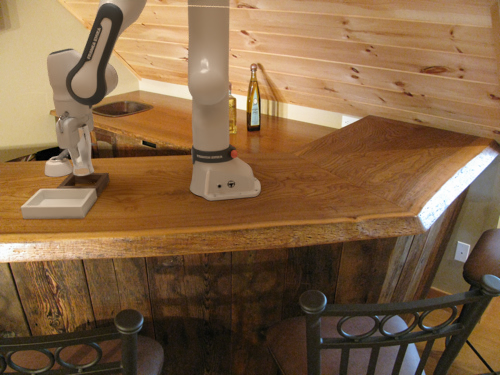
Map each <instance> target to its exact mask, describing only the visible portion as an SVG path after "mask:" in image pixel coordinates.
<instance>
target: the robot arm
mask: <svg viewBox="0 0 500 375" xmlns="http://www.w3.org/2000/svg"><path fill="white" fill-rule="evenodd" d="M147 3H148V0H99V2H98V7H97V10H96V14H95V18H94V22H93V23H92V27H91V29H90V32H89V35H88V37H87V40H86V43H85V46H84V49H83V51H82V53H80V52H79V51H78V50H77V49H74V48H65V49H60V50H55V51H52V52H50V53H49V54H48V55H47V57H46V67H47V68H46V69H47V76H48V80H49V85H50V87H51V89H52V99H53V100H52V101H53V105H54V111H55V114H56V117H58V120H57V121H56V122H55V133H56V135H55V136H56V141H57V146H58V147H59V148H60V149H63V150H65V149H69V151H70V152H71V155H72V158H73V159H77V158H79V156H80V155H79V151H77V148H76V147H77V143H78V142H80V136H79V130H78V129H77V128H80V127H84V126H85V125H84V123H86V124H87V125H88V129H89V133H91V132H92V131H93V130H94V127H95V125H94V114H93V110H92V109H93V107H94V106H95V105H97V104H100V103H101V102H102V101H103V100H104V99H105V98H106V97H107V96H108V95H110V94H111V93H112V92H113V91H114V90H115V89H116V88H117V86H118V83H119V76H118V73H117V71H116V69H115V68H114V66H113V65H112V64H111V63H109V62H110V59H111V56H112V55H113V52H114V49H115V46H116V43H117V41H118V40H119V38H120V36H121V35H122V34H123V33H124V31H125V30H126V29H128V28H129V27H130V26H131V25H133V24H134V23H135V22H136V21H137V20H138V19H139V18H140V16H141V14H142V12H143V11H144V10H145V7H146V5H147ZM187 27H188V30H187V31H188V46H187V50H188V51H187V88H188V91H189V94H190V96H191V106H192V107H191V129H192V130H191V133H192V145H191V162H192V174H191V176H192V178H191V182H190V184H189V185H190V186H189V190H190V192H192V193H193V194H194V195H197V196H199V197H202V198H204V199H205V200H207V201H210V202H211V201H213V202H214V201H222V200H232V199H244V198H254V197H257V196H259V195H260V193H261V191H262V188H261V182H260V181H259V179H258V178H256V177H255V175H254V173H253V169H252V167H251V166H250V165H249V164H248V163H246V162H245V161H243V160H242V159H240V158H239V157H238V151H237V147H236V146H235V144H230V76H229V72H230V70H229V69H230V68H229V67H230V65H229V64H230V0H187Z"/></svg>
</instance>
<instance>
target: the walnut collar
mask: <svg viewBox="0 0 500 375" xmlns="http://www.w3.org/2000/svg"><path fill="white" fill-rule="evenodd" d="M109 183H110V174H109V172H94V173H93V174H91V175H87V176H75V175H74V174H73V172H72V173H70V174H68V175H67V177H66V178H64V180H63V181H62V182H61V183H60V184H59V185H58V186H57V187H56V188H55V189H85V188H95V189H96V195H97V198H99V197H100V196H101V194H102V193H103V191H105V189H106V187H107V186H108V184H109ZM76 184H94V185H76Z"/></svg>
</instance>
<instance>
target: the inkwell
mask: <svg viewBox="0 0 500 375" xmlns="http://www.w3.org/2000/svg"><path fill="white" fill-rule="evenodd" d="M91 146H97V144H96V143H94V142H91ZM69 155H70V154H69V151H68V149H63V150H62V151H61V153H59V155H57V156H52V157H51V158H49V159H48V160H47V161H46V162H45V166H44V175H45V176H46V177H50V178H58V177H59V178H60V177H65V176H69V175H70V174H71V173H73V164H72V163H71V162H70V160H69V158H68V157H69Z"/></svg>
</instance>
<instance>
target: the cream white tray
mask: <svg viewBox="0 0 500 375" xmlns="http://www.w3.org/2000/svg"><path fill="white" fill-rule="evenodd" d="M97 200H98V197H97V195H96V189H95V188H85V189H56V188H39V190H37V191H36V192H35V193H34V194H33V195H32V196H31V197H30V198H29V199H27V201H26V202H25V203H23V205H21V206H20V211H21V213H22V214H21V215H22V217H23V218H22V219H23V220H30V219H31V220H35V219H36V220H38V219H39V220H41V219H42V220H43V219H44V220H47V219H48V220H49V219H51V220H52V219H53V220H56V219H57V220H58V219H60V220H61V219H62V220H63V219H69V220H70V219H85V217H86V216H87V214H88V213H89V212H90V210H91V209H92V207H93V206H94V204H95V203H96V202H97Z"/></svg>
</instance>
